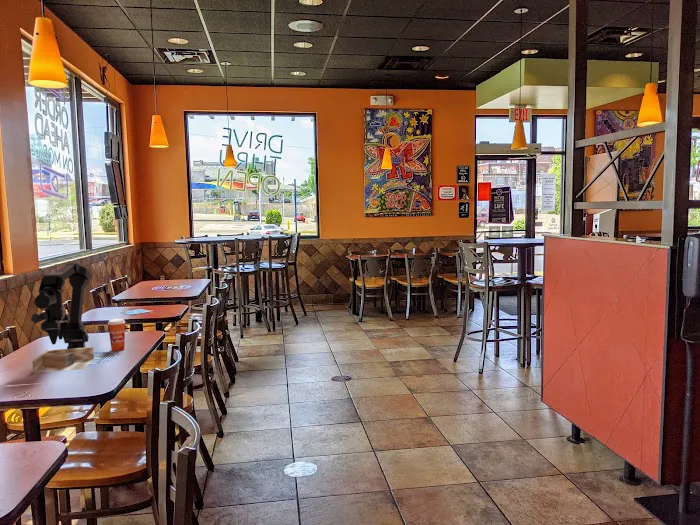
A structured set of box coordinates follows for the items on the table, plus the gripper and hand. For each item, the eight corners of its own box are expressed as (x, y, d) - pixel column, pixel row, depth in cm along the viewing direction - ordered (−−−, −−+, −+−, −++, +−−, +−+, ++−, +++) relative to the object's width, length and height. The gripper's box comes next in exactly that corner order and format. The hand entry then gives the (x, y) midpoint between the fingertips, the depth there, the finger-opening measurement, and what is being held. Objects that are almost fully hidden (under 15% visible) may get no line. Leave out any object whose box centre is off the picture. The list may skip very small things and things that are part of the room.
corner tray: (94, 359, 232) (93, 347, 232) (84, 370, 216) (83, 357, 215) (47, 362, 228) (46, 350, 228) (33, 374, 212) (32, 360, 211)
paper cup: (109, 352, 244) (107, 322, 243) (108, 348, 251) (106, 319, 249) (128, 350, 247) (126, 320, 246) (126, 346, 254) (124, 317, 253)
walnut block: (50, 363, 224) (49, 353, 224) (74, 363, 224) (73, 352, 224) (44, 367, 220) (43, 356, 219) (68, 366, 220) (67, 355, 219)
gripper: (40, 302, 227) (43, 338, 228) (24, 309, 209) (27, 348, 210) (69, 300, 229) (71, 336, 231) (56, 307, 211) (58, 346, 213)
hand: (57, 341), depth 221 cm, fingers open, 9 cm apart
